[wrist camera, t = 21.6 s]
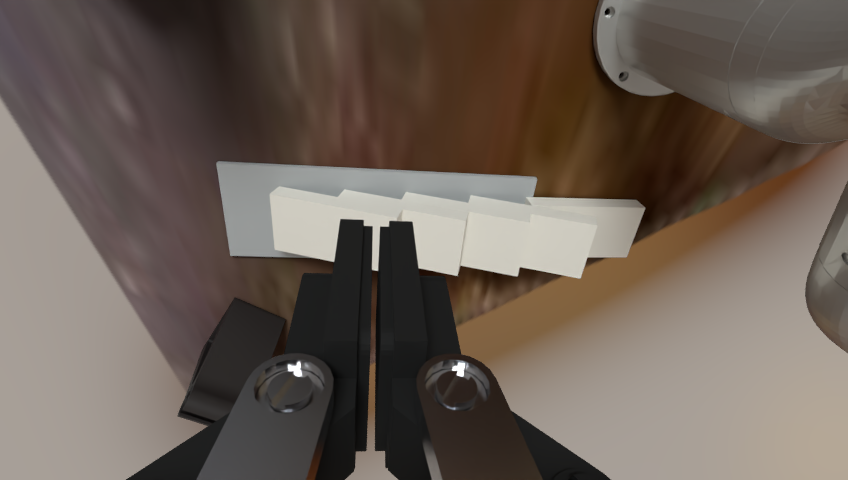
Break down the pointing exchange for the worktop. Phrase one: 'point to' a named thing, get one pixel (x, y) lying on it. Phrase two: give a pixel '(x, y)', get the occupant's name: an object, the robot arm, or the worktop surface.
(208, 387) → the phone stand
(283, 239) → the domino
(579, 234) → the domino
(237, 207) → the mat
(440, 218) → the domino
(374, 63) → the worktop surface
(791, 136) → the robot arm
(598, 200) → the domino
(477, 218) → the domino
